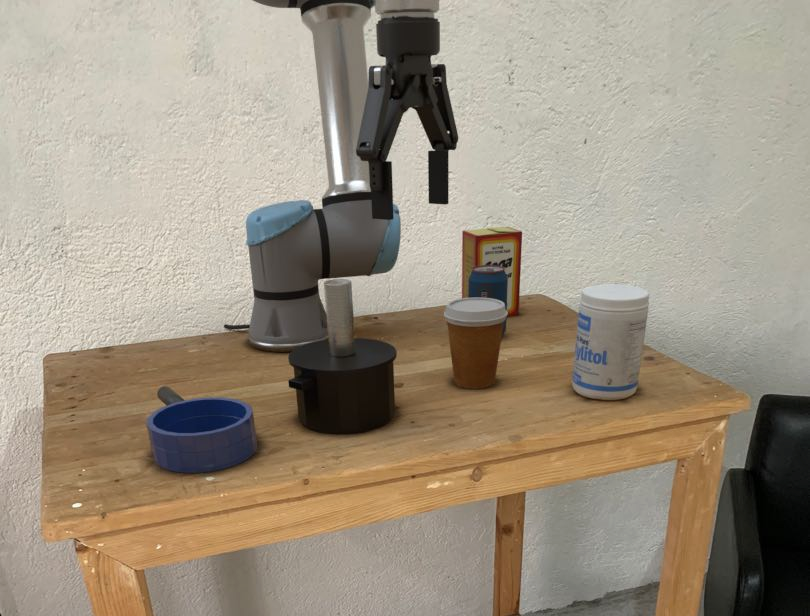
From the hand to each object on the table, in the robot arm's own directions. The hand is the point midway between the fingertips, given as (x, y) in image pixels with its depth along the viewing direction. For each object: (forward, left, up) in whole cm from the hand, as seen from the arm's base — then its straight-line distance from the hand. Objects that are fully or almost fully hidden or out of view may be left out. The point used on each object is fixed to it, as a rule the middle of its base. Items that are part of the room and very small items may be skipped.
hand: (412, 211), depth 104 cm
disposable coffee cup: (-2, +12, -27) cm, 29 cm away
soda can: (-21, +29, -27) cm, 45 cm away
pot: (-1, -11, -26) cm, 29 cm away
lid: (-1, -11, -18) cm, 21 cm away
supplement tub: (+13, +25, -27) cm, 39 cm away
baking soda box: (-33, +39, -27) cm, 57 cm away
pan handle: (-12, -32, -24) cm, 42 cm away
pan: (-1, -32, -26) cm, 41 cm away
